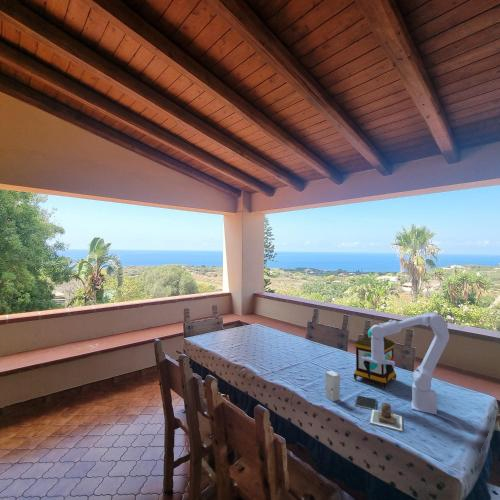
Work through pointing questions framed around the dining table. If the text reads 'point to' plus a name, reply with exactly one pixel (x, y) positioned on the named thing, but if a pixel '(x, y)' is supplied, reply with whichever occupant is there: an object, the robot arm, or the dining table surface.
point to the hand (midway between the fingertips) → (378, 378)
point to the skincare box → (332, 386)
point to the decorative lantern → (375, 369)
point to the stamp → (386, 414)
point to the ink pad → (366, 402)
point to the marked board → (397, 426)
